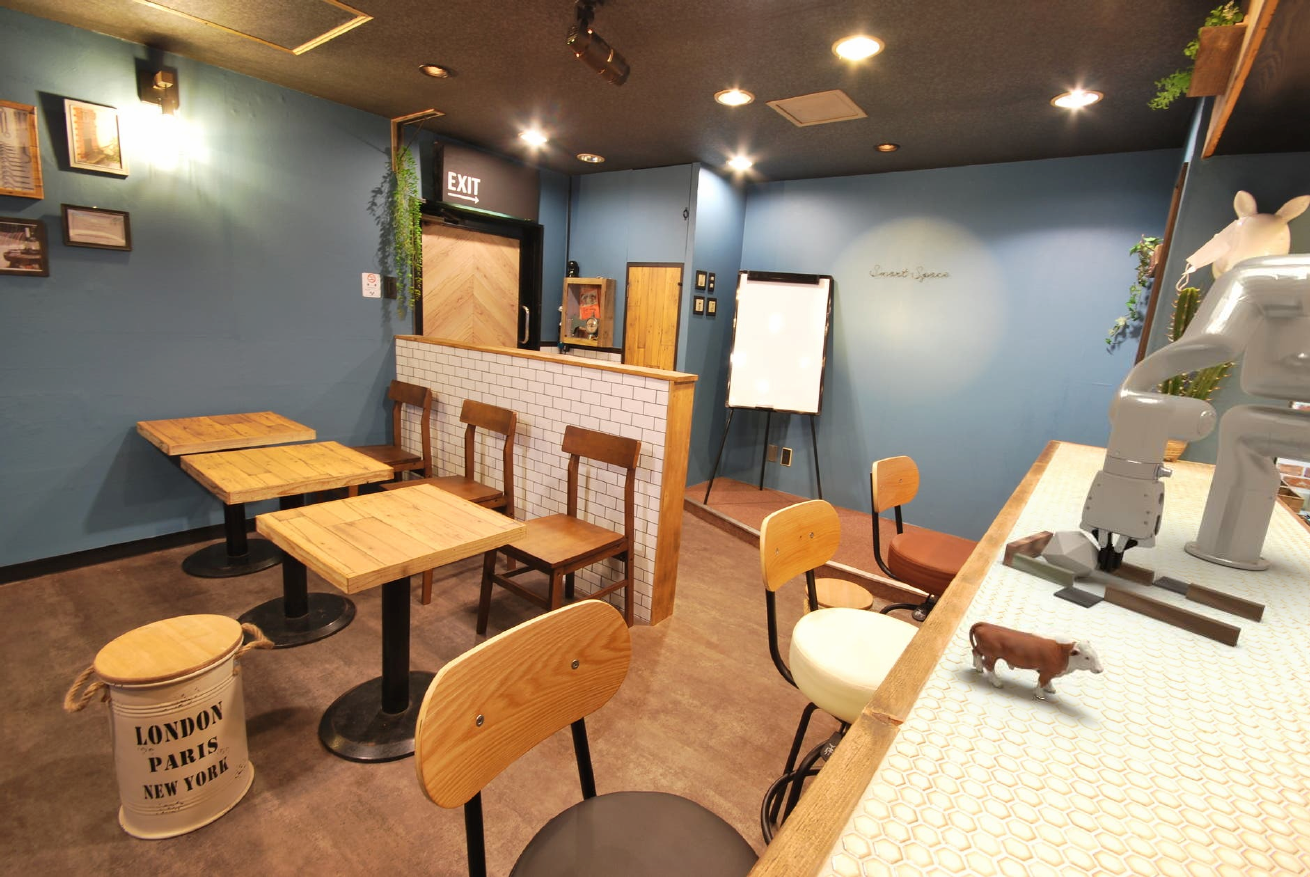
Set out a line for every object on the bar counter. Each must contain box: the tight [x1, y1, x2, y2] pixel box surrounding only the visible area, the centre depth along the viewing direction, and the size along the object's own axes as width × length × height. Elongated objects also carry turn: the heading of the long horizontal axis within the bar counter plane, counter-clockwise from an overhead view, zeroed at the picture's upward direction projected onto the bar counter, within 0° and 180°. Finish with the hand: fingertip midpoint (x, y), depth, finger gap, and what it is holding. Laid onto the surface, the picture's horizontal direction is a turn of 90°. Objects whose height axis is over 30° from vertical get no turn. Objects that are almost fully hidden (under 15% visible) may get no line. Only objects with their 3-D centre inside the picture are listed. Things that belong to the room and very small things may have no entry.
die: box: [1041, 530, 1100, 578], centre depth 106 cm, size 8×9×10 cm
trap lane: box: [1002, 530, 1266, 647], centre depth 101 cm, size 28×32×4 cm
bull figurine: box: [968, 621, 1104, 698], centre depth 70 cm, size 4×13×8 cm, turn 58°
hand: (1107, 569), depth 103 cm, fingers closed
